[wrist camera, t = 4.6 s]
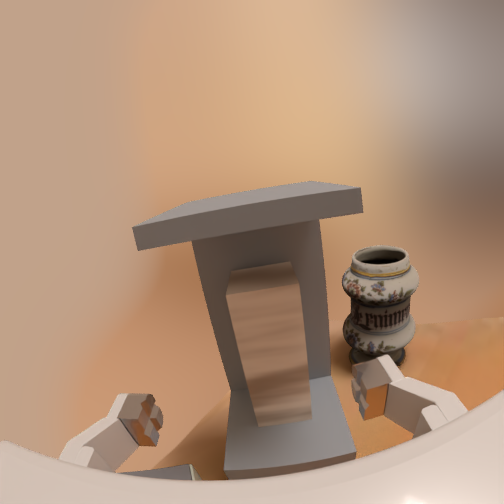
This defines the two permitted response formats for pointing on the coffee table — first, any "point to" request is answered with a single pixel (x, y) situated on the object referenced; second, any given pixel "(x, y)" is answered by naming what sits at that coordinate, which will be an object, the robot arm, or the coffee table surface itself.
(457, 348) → the coffee table surface
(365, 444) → the coffee table surface
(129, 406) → the robot arm
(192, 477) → the stand
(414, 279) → the apothecary jar
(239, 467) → the grey podium
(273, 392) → the block
